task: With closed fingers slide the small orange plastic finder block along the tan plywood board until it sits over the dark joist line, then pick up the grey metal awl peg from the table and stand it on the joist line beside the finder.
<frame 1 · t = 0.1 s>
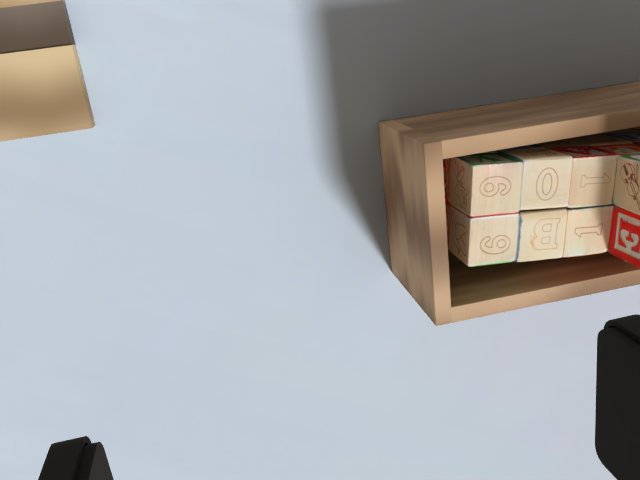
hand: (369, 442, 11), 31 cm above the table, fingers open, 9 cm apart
stack of blocks: (552, 169, 45), resting in block caddy
block caddy: (555, 170, 45), on the table
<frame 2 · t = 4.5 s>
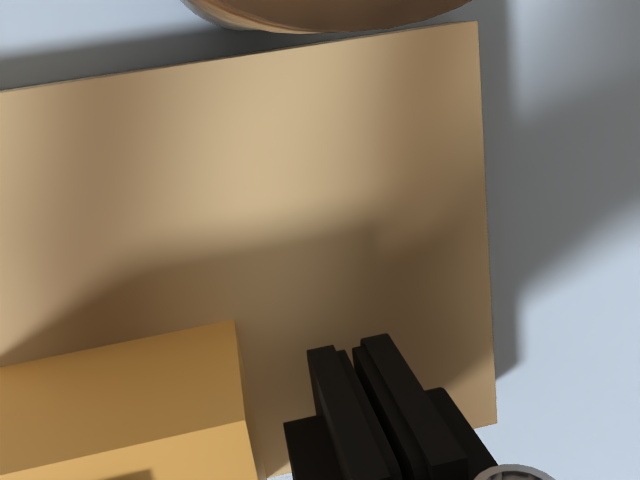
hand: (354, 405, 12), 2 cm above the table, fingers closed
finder: (132, 429, 13), point 1 cm above the table, touching board, gripper
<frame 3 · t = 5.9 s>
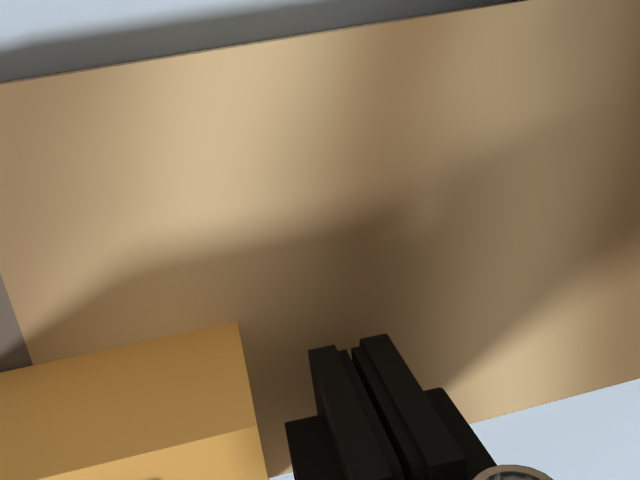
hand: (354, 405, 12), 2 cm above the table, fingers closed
board: (223, 272, 13), on the table
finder: (132, 434, 12), point 1 cm above the table, touching board, gripper
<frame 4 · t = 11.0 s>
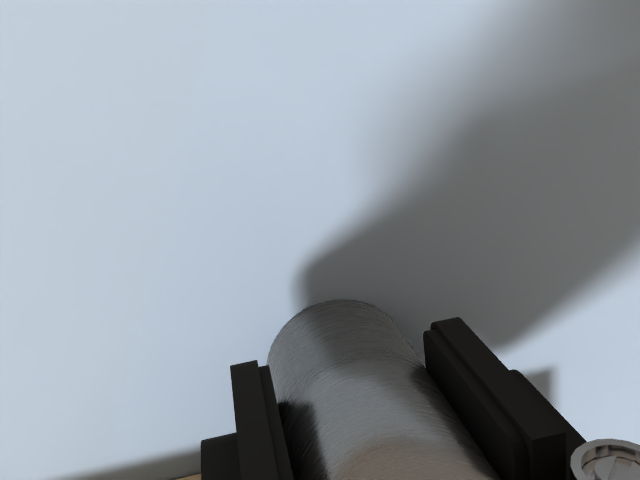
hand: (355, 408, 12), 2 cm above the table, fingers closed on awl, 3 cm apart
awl: (337, 365, 14), on the table, touching gripper
when the fingers open (4 cm above the table, at t = 15.1 s): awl drops 1 cm, resting on board.
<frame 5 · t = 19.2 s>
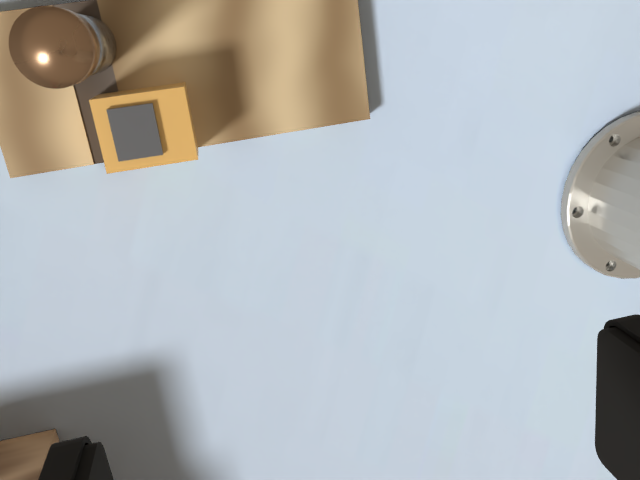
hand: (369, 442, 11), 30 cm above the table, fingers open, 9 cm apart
board: (182, 71, 37), on the table
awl: (86, 45, 35), point 1 cm above the table, touching board
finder: (149, 122, 37), point 1 cm above the table, touching board
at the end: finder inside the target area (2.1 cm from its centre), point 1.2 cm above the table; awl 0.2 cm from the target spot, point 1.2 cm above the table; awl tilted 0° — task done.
